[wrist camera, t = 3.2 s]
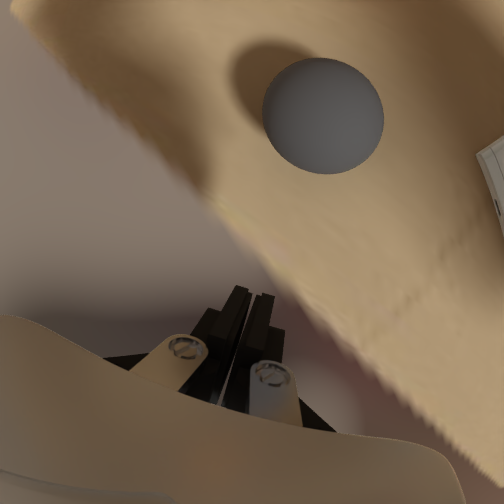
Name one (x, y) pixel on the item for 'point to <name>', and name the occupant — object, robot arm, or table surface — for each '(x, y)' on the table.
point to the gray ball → (323, 116)
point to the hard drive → (494, 174)
